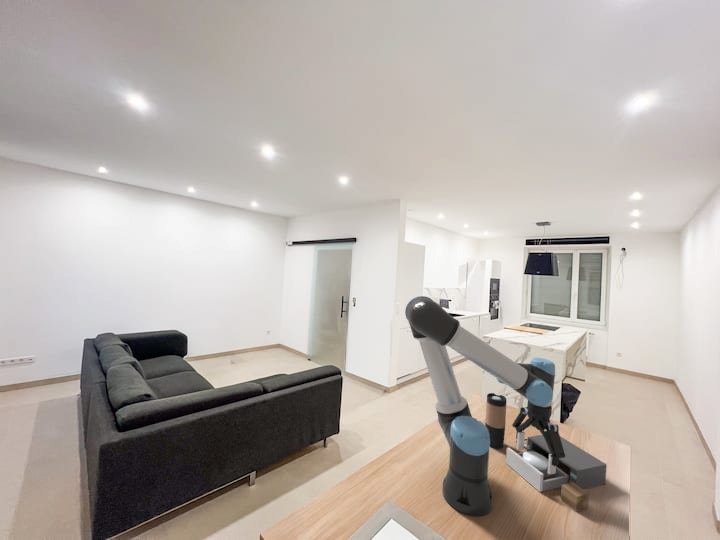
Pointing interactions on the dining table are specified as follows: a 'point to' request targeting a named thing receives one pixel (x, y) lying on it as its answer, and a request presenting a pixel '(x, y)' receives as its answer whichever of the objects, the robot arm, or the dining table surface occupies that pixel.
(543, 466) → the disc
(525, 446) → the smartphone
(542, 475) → the light grey drawer
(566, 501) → the walnut block
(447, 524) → the dining table surface
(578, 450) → the box
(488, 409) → the travel mug
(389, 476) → the dining table surface
